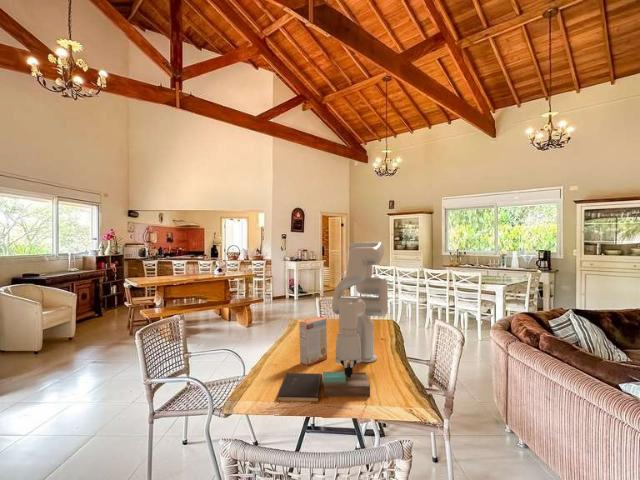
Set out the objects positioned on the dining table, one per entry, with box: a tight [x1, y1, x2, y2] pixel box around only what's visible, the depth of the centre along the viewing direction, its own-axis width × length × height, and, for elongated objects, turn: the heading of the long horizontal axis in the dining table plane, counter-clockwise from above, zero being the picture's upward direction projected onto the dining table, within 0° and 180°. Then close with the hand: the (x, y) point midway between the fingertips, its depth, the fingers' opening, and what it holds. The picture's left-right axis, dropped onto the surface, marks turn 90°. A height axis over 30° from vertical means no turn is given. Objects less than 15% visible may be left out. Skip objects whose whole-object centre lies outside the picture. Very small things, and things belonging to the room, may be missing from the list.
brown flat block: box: [323, 371, 371, 398], centre depth 145 cm, size 14×18×4 cm
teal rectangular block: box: [322, 371, 346, 384], centre depth 144 cm, size 6×9×2 cm, turn 90°
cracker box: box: [298, 316, 328, 366], centre depth 178 cm, size 14×6×21 cm, turn 135°
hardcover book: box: [276, 372, 323, 402], centre depth 146 cm, size 16×23×2 cm
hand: (348, 376), depth 144 cm, fingers closed
